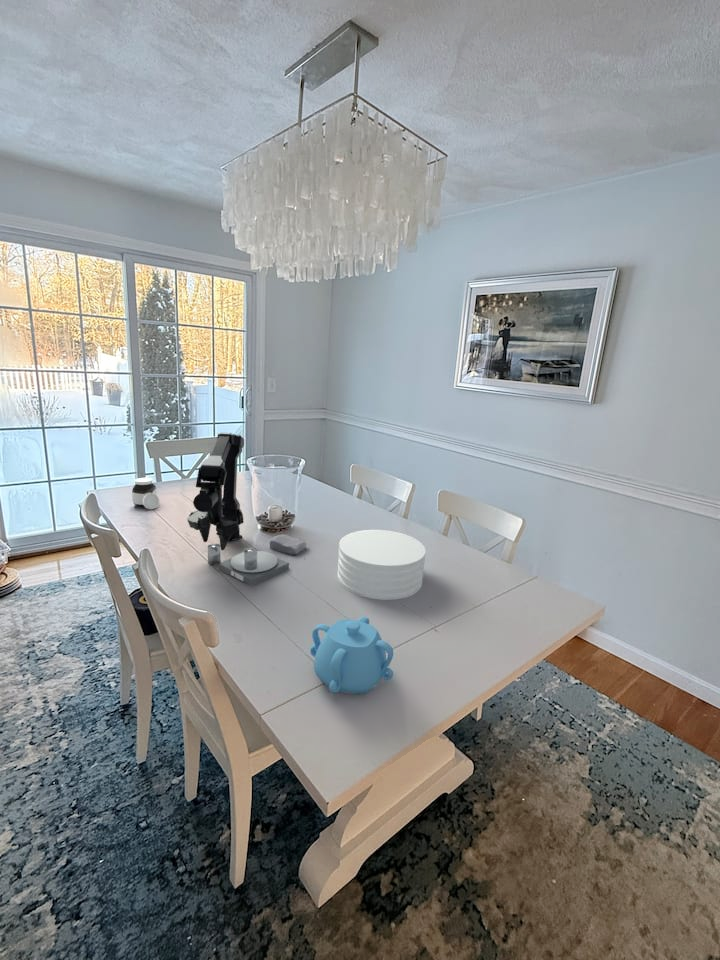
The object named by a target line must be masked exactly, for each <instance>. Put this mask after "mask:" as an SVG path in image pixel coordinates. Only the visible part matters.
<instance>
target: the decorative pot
mask: <svg viewBox="0 0 720 960" xmlns="http://www.w3.org/2000/svg"><path fill="white" fill-rule="evenodd" d="M319 631H323V632H325V634H324V636H323V638H322V639H321V638H320V635H319ZM312 640H313V645H312V646H311V647H310V648H309V649H310V650H309V651H310V655H311V656H312V657H314V660H313V661H314V662H313V670H314V673H315V675H316V676H317V678H318V679H319V680H320V682H322V683H323V684H324V685H326V686H328V689H329V691H330V692H331V693H334V694H336V693H338V692H341V693H344V694H345V693H346V694H349V695H350V694H351V695H362V694H363V695H364V694H367V693H369V692H371V691H372V689H374V688H375V687H376V686H377V685H378V683H379V682H380V681H381V679H382V680H384V681H390V680H392V679H393V676H394V670H392V669H391V668H390V664H391V662H392V660H393V658H394V649H393V647H392V646H391V644H389V643H388V642H386V641H384V640H382V637H381V635H380V633H379V630H377V628H376V627H374V625H373V626H372V625H371V624H370V619H369V618H368V617H366V616H360V617H359V618H358V620H356V619H351V618H342V619H339V620H336V621H335V622H334V623H333V624H332V625H331V626H330V625H328V624H326V623H319V624H317V625H316V626H315V627H314V628H313V630H312ZM386 653H387V654H386Z"/></svg>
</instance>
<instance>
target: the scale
mask: <svg viewBox="0 0 720 960" xmlns="http://www.w3.org/2000/svg"><path fill="white" fill-rule="evenodd" d="M256 549H257V569H255V570H246V569H245V568H244V551H243V552H240V553H238V554H236V555H233V557H232V558H230V559H227V560H225V561H221V563H219V564H218V570H220V571H222V572H223V573H226V574H227V575H229V576H231V577H233V578H235V579H237V580H239V581H240V582H243V583H245V584H247V585H249V586H254V585H258V584H259V583H260V582H263V581H266V580H267V579H269V578H271V577H273V576H276V575H278V574H280V573H283V572H284V571H286V570H288V569H290V562H287V561H286V560H283V559H280V558H279V557H277V556H276V555H275V554H273V553H271V552H268V551H263V550H260V549H258V548H256Z"/></svg>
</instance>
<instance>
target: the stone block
mask: <svg viewBox="0 0 720 960" xmlns="http://www.w3.org/2000/svg"><path fill="white" fill-rule="evenodd" d="M306 547H307V542H306V540H304V539H301V538H294V537H291V536H290V535H287V534H278V535H275V536H273V537H272V538H270V541H269V548H270V549H271V550H274V551H277V552H280V553H284V554H286V555H291V556H292V555H293V556H297V555H298V554H300V552H302V551H304V550H305V549H306Z"/></svg>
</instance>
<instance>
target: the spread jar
mask: <svg viewBox="0 0 720 960" xmlns="http://www.w3.org/2000/svg"><path fill="white" fill-rule="evenodd" d="M134 483H135V484H134V486H133V487H132V490H131V495H132V496H131V497H132V503H133V504H134V506H136V507H138V508H146V509H147V510H154V509H156V508H158V506H159V504H160V499H159V497H158V495H157V493H158V492H157V487H156V485H155V483H154V482H153V478H150V477H140V478H136V479H135V480H134Z"/></svg>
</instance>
